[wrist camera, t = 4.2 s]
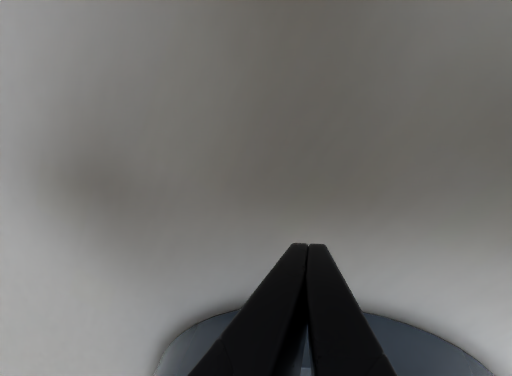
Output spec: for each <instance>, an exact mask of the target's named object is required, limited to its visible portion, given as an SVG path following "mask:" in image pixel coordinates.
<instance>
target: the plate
mask: <svg viewBox="0 0 512 376" xmlns="http://www.w3.org/2000/svg"><path fill="white" fill-rule="evenodd" d="M239 311H240V310H236V311H232V312H228V313H225V314H221V315H218V316H214V317H212V318H209V319H207V320H205V321H202V322H200V323H198V324H196V325H194V326H192V327H191V328H189V329H188V330H186V331H185V332H183V333H181V334H180V335H179V336H178V337H177V338H176V339H175V340H174V341H173V342H172V343H171V344H170V345H169V346H168V348H167V349H166V351H165V352H164V354H163V355H162V358H161V360H160V362H159V365H158V367H157V369H156V372H155V374H154V376H187V375H188V374H189V373H190V371H191V370H192V369H193V368H194V367H195V366H196V364H197V363H198V362H199V361H200V360H201V358H202V357H203V356H204V355H205V354H206V352H207V351H208V350H209V349H210V347H211V346H212V345H213V344H214V342H215V341H216V340H217V338H220V335H221V334H222V332H223V331H224V330H225V328H226V327H227V326H228V325H229V323H230V322H231V321H232V319H233V318H234V317H235V316H236V314H237V313H238V312H239ZM363 314H364V316H365V318H366V320H367V321H368V323H369V325H370V327H371V329H372V330H373V332H374V334H375V336H376V338H377V340H378V341H379V343H380V345H381V347H382V349H383V351H384V354H386V356H387V357H388V359H389V361H390V363H391V365H392V367H393V368H394V370H395V372H396V374H397V375H398V376H494V375H493V374H492V373H491V372H490V371H489V370H488V369H487V368H485V367H484V366H483V365H482V364H481V363H480V362H479V361H477V360H476V359H474V358H473V357H472V356H470V355H469V354H467V353H466V352H464V351H463V350H461V349H460V348H458V347H456V346H455V345H453V344H451V343H449V342H447V341H445V340H443V339H441V338H439V337H437V336H435V335H433V334H431V333H428V332H426V331H423V330H421V329H418V328H416V327H413V326H411V325H408V324H405V323H402V322H399V321H395V320H392V319H388V318H385V317H382V316H378V315H374V314H369V313H364V312H363ZM300 376H311V366H310V355H309V343H308V325H307V335H306V342H305V348H304V354H303V360H302V366H301V372H300Z"/></svg>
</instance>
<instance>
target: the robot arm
mask: <svg viewBox="0 0 512 376" xmlns="http://www.w3.org/2000/svg"><path fill="white" fill-rule="evenodd" d="M307 325H308V343H309V355H310V366H311V376H398V375H397V374H396V372H395V370H394V368H393V367H392V365H391V363H390V361H389V359H388V357H387V356H386V354H384V351H383V349H382V347H381V345H380V343H379V341H378V340H377V338H376V336H375V334H374V332H373V330H372V329H371V327H370V325H369V323H368V321H367V320H366V318H365V316H364V314H363V312H362V310H361V309H360V307H359V305H358V303H357V301H356V299H355V298H354V296H353V294H352V292H351V290H350V289H349V287H348V285H347V283H346V281H345V279H344V278H343V276H342V274H341V272H340V270H339V269H338V267H337V265H336V263H335V261H334V259H333V258H332V256H331V254H330V252H329V250H328V248H327V247H326V245H324V244H310V245H309V247H308V244H305V243H293V244H291V245H290V247H289V248H288V249H287V250H286V252H285V253H284V254H283V256H282V257H281V258H280V259H279V261H278V262H277V263H276V265H275V266H274V267H273V268H272V270H271V271H270V272H269V273H268V275H267V276H266V277H265V279H264V280H263V281H262V282H261V284H260V285H259V286H258V288H257V289H256V290H255V291H254V293H253V294H252V295H251V296H250V298H249V299H248V300H247V302H246V303H245V304H244V305H243V307H242V308H241V309H240V311H239V312H238V313H237V314H236V316H235V317H234V318H233V319H232V321H231V322H230V323H229V325H228V326H227V327H226V328H225V330H224V331H223V332H222V334H221V335H220V338H217V340H216V341H215V342H214V344H213V345H212V346H211V347H210V349H209V350H208V351H207V352H206V354H205V355H204V356H203V357H202V358H201V360H200V361H199V362H198V363H197V364H196V366H195V367H194V368H193V369H192V370H191V371H190V373H189V374H188V375H187V376H300V372H301V366H302V360H303V354H304V348H305V342H306V335H307Z"/></svg>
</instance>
